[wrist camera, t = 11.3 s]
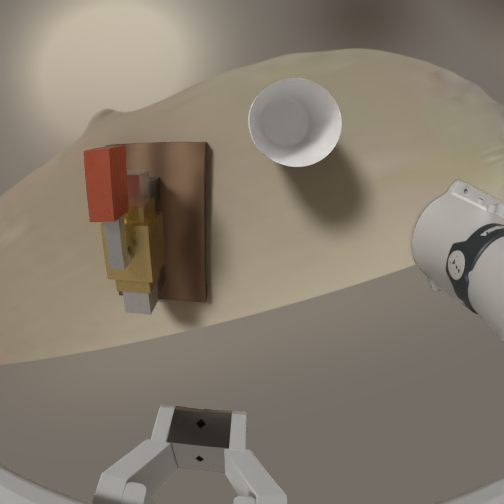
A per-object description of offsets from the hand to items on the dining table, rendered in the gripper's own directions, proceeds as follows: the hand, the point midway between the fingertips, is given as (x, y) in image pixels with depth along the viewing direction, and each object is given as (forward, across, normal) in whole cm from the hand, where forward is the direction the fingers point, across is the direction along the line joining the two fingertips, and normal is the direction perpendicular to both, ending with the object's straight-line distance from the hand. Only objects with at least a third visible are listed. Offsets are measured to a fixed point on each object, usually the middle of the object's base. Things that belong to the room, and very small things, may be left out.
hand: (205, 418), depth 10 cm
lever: (+25, +13, -1) cm, 28 cm away
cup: (+35, -5, -10) cm, 37 cm away
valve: (+34, +13, +5) cm, 36 cm away
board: (+35, +12, +5) cm, 37 cm away
